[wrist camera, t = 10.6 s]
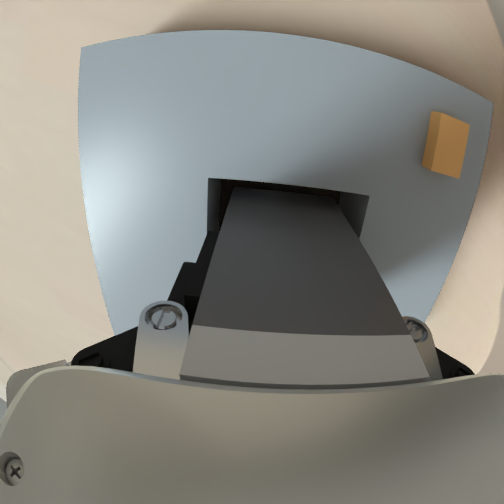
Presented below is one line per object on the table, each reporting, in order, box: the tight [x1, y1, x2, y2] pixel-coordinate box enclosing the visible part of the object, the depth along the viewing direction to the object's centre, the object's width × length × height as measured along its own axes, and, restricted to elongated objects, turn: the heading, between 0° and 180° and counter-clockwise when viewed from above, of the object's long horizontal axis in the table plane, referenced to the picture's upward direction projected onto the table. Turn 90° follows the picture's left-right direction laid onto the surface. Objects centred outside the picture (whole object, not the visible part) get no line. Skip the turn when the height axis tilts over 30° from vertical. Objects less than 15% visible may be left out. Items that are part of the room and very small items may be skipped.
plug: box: [179, 187, 430, 390], centre depth 10 cm, size 5×5×10 cm
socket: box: [78, 30, 494, 336], centre depth 14 cm, size 18×18×5 cm
